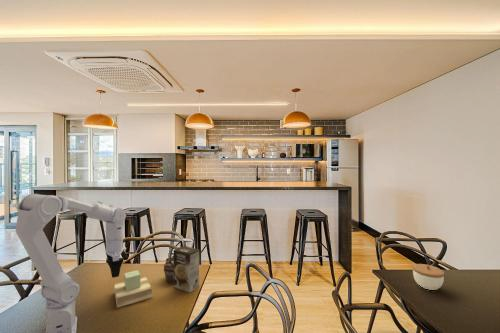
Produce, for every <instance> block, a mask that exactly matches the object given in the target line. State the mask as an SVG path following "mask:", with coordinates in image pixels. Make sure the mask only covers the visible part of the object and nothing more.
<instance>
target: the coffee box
mask: <svg viewBox="0 0 500 333" xmlns="http://www.w3.org/2000/svg"><path fill="white" fill-rule="evenodd" d="M173 255H174V283H173V288H175V289H178V290H181V291H183V292H187V293H191V292H193V291H194V290H196V289H197V288H199V287H200V249H199V248H195V247H190V246H186V245H183V246H179V247H177V248H175V249H174V250H173Z"/></svg>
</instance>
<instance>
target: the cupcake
mask: <svg viewBox="0 0 500 333" xmlns="http://www.w3.org/2000/svg"><path fill="white" fill-rule="evenodd" d="M163 272H164V276H165V281H166V282H167V283H170V284H174V254H173V255H172V256H171V257H169V258H168V257H167V258H166V259H165V263H164V264H163Z"/></svg>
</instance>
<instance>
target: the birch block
mask: <svg viewBox="0 0 500 333" xmlns="http://www.w3.org/2000/svg"><path fill="white" fill-rule="evenodd" d="M140 284H141V287H139V288H135V289H132V290H129V291H126V288H125V283H124V281H121V282H117V283H114V284H113V285H114V286H113V288H114V289H113V291H114V292H113V294H114V298H115V303H116V304H115V305H116V308H122V307H124V306H128V305H130V304H134V303H138V302H141V301H145V300H149V299H150V298H152V297H153V292H152V290H153V289H152V286H151V284H150V283H149V279H148V278H147V276H142V277H141V276H140Z"/></svg>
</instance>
